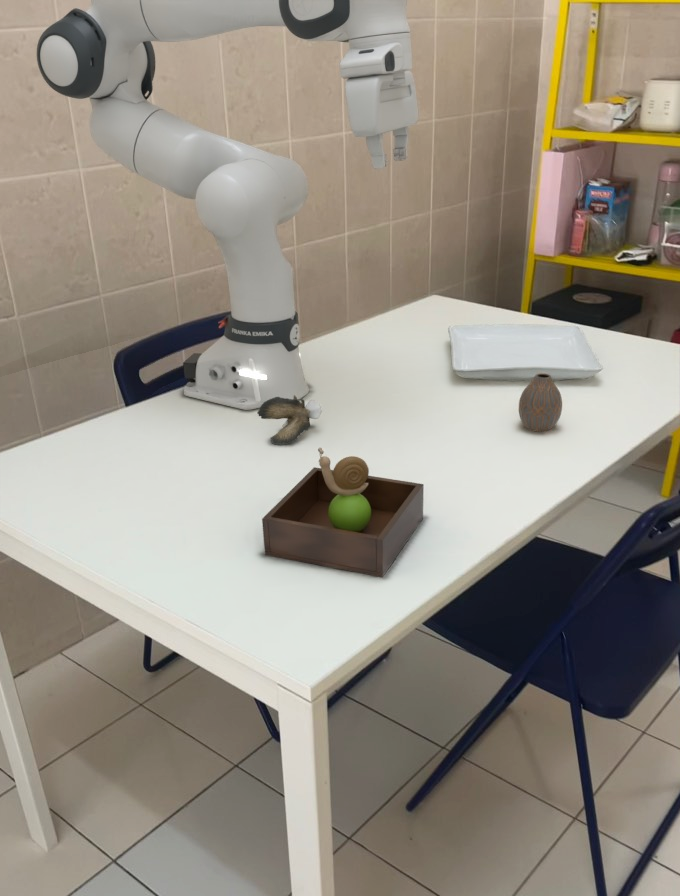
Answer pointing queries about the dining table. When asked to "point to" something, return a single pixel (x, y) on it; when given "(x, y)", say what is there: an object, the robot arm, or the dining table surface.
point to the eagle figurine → (290, 417)
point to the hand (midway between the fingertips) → (390, 164)
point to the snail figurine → (347, 492)
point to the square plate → (521, 352)
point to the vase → (540, 404)
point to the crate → (317, 542)
